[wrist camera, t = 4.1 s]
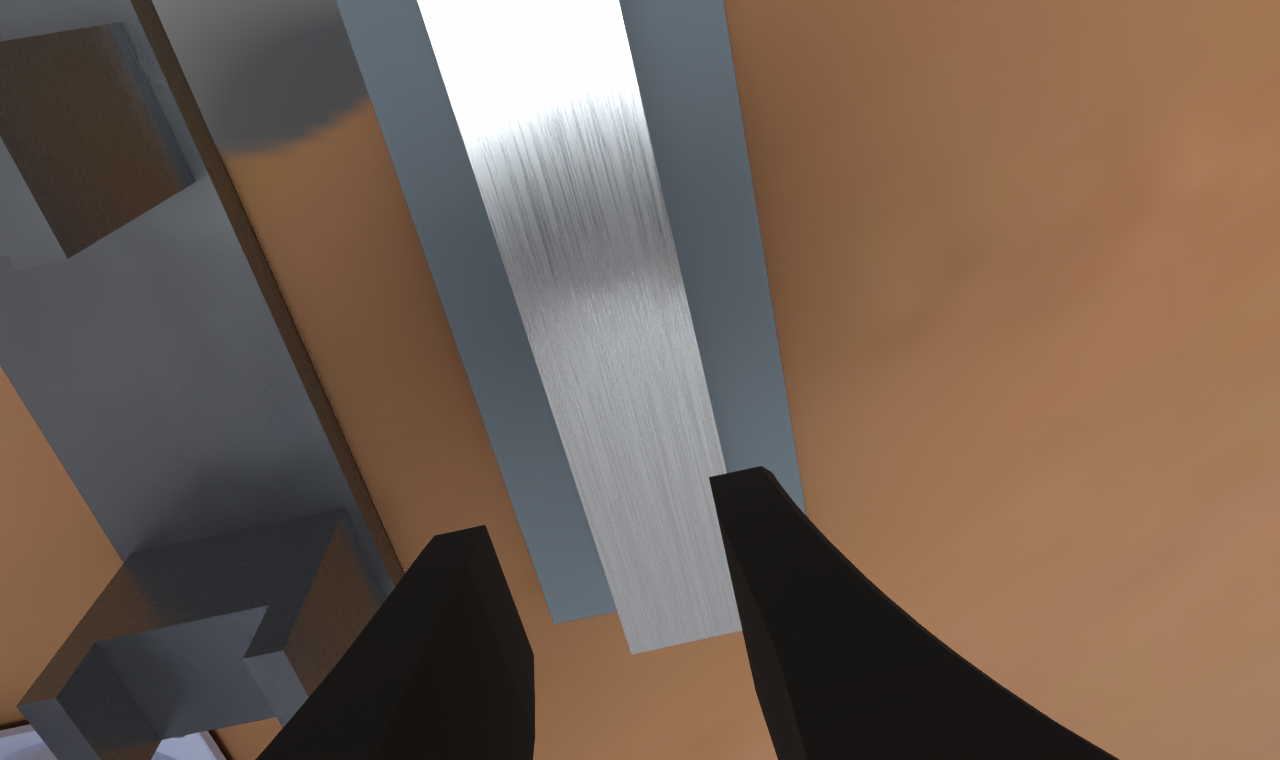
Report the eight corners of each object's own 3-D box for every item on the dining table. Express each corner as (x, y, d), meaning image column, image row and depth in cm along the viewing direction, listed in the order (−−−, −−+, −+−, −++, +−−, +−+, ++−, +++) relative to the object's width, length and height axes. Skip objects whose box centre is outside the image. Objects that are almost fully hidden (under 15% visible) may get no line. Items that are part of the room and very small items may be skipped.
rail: (626, 568, 22) (740, 543, 22) (631, 654, 19) (761, 626, 19) (406, -137, 15) (573, -184, 15) (366, -156, 12) (570, -213, 12)
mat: (809, 555, 23) (815, 570, 22) (555, 608, 23) (554, 624, 23) (678, -252, 15) (681, -259, 14) (291, -152, 15) (281, -155, 15)
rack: (418, 607, 23) (372, 785, 18) (205, 652, 23) (103, 839, 19) (132, -43, 16) (-71, -38, 11) (-170, 34, 16) (-499, 71, 11)
